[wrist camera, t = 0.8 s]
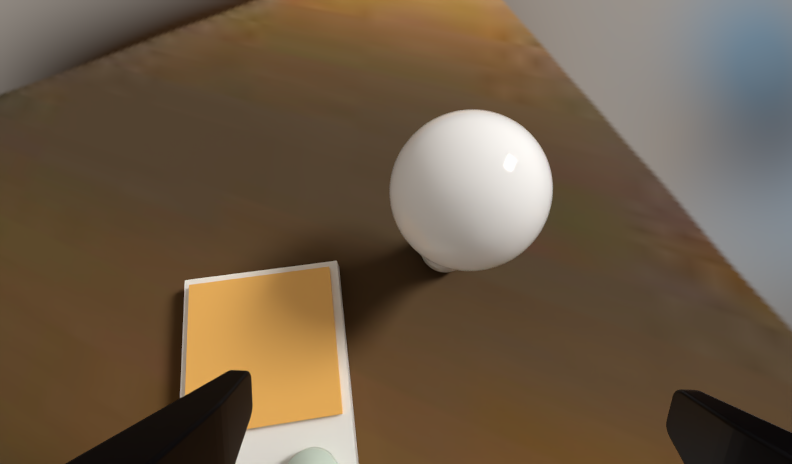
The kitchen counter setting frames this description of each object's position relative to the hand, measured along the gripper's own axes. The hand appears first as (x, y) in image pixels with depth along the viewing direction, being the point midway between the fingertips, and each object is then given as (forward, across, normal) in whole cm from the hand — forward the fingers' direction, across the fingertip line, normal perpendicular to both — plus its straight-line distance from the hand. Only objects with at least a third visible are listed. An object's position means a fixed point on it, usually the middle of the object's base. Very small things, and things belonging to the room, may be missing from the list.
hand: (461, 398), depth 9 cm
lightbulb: (+15, -1, +2) cm, 15 cm away
